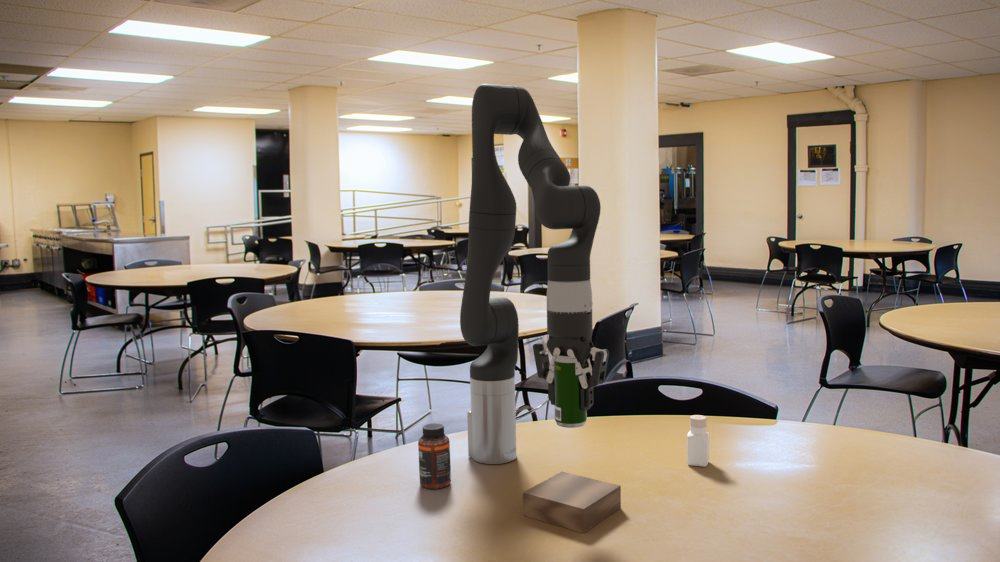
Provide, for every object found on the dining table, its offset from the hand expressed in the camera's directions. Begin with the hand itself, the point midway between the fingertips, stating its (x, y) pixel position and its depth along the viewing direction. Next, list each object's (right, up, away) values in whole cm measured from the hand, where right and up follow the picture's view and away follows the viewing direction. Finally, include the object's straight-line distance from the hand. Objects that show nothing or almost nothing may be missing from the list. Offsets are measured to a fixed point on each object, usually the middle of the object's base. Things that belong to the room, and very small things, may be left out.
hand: (570, 406), depth 126 cm
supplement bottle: (-24, -18, +16) cm, 34 cm away
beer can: (0, -3, 0) cm, 3 cm away
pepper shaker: (+28, -16, +24) cm, 40 cm away
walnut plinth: (0, -18, +2) cm, 18 cm away
